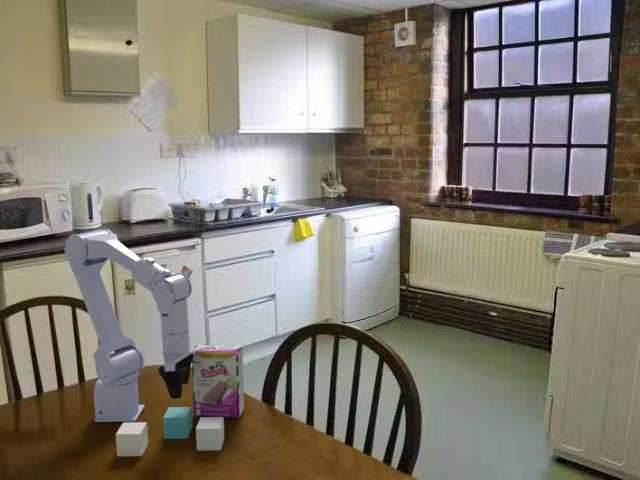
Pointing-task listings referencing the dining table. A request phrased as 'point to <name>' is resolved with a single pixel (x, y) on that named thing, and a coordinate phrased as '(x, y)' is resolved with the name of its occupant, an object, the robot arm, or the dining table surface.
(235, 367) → the candy bar box
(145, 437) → the offwhite block
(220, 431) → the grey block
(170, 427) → the teal block
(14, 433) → the dining table surface
